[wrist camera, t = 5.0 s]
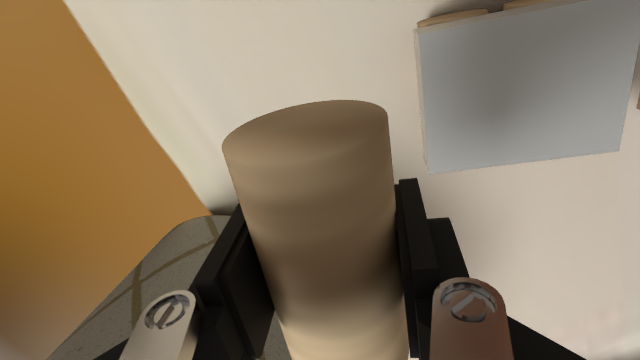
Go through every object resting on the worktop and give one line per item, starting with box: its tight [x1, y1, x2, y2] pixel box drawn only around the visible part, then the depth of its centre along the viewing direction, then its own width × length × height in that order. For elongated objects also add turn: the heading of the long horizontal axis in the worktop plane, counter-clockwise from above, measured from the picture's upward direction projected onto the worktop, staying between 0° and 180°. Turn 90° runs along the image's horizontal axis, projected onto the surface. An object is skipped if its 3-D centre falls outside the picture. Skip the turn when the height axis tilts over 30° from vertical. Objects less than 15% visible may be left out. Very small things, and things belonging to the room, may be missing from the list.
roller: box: [222, 100, 409, 360], centre depth 10 cm, size 8×4×4 cm, turn 10°
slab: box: [413, 0, 640, 174], centre depth 20 cm, size 8×10×2 cm
